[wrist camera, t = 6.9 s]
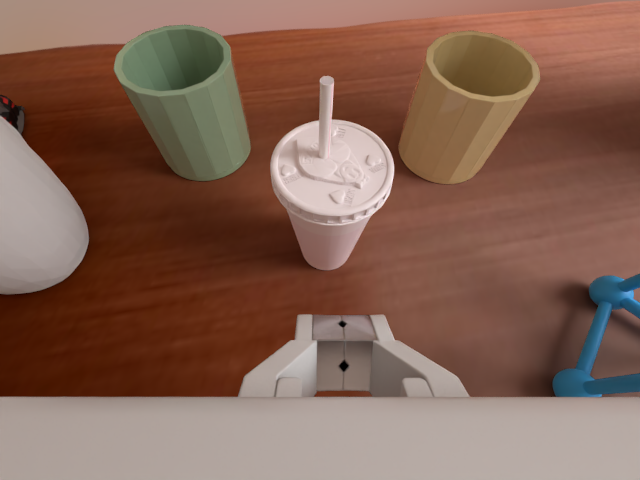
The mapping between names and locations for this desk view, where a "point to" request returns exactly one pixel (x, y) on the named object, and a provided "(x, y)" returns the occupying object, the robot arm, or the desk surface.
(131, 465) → the robot arm
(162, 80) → the sage cup
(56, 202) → the mug
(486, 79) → the tan cup
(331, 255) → the smoothie
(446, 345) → the desk surface
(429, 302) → the desk surface
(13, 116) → the toy car
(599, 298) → the molecular structure
